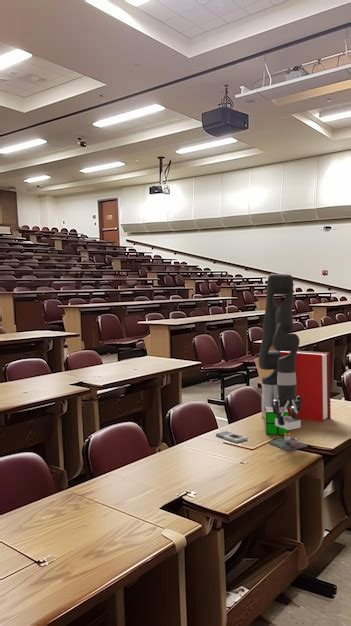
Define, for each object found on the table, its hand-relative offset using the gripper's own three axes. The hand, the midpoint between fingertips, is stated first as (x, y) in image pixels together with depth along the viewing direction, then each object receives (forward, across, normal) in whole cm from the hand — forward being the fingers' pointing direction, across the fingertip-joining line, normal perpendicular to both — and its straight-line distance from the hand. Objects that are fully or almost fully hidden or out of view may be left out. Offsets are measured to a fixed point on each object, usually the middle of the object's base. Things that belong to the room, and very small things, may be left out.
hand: (287, 423), depth 195 cm
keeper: (+9, 0, 0) cm, 9 cm away
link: (+1, 0, 0) cm, 1 cm away
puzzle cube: (+9, -9, -17) cm, 21 cm away
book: (+9, -36, -30) cm, 48 cm away
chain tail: (+9, +13, -21) cm, 26 cm away
